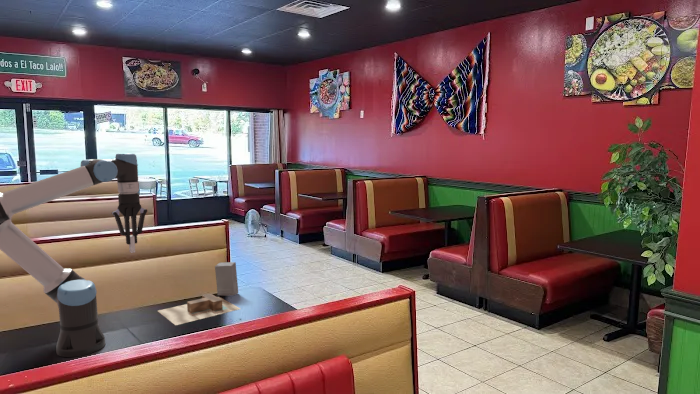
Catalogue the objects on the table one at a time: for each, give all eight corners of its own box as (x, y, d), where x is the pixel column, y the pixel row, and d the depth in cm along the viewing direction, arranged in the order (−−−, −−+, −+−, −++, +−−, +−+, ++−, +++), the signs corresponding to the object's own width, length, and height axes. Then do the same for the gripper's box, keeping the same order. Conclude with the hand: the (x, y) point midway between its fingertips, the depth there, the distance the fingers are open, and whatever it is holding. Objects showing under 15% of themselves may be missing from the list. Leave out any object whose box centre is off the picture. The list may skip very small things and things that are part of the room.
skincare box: (238, 293, 228) (237, 261, 226) (233, 298, 221) (232, 265, 219) (221, 293, 229) (220, 261, 227) (216, 298, 221) (214, 265, 220)
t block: (194, 315, 195) (194, 306, 195) (184, 308, 204) (183, 299, 204) (222, 309, 203) (222, 300, 202) (211, 302, 212) (210, 293, 212)
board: (175, 328, 185) (175, 325, 185) (157, 313, 202) (157, 310, 202) (241, 311, 203) (241, 308, 203) (219, 299, 220) (219, 296, 220)
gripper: (113, 194, 178) (117, 256, 181) (148, 192, 187) (152, 251, 189) (108, 193, 184) (112, 252, 187) (143, 191, 192) (146, 248, 195)
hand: (132, 251), depth 188 cm, fingers closed
